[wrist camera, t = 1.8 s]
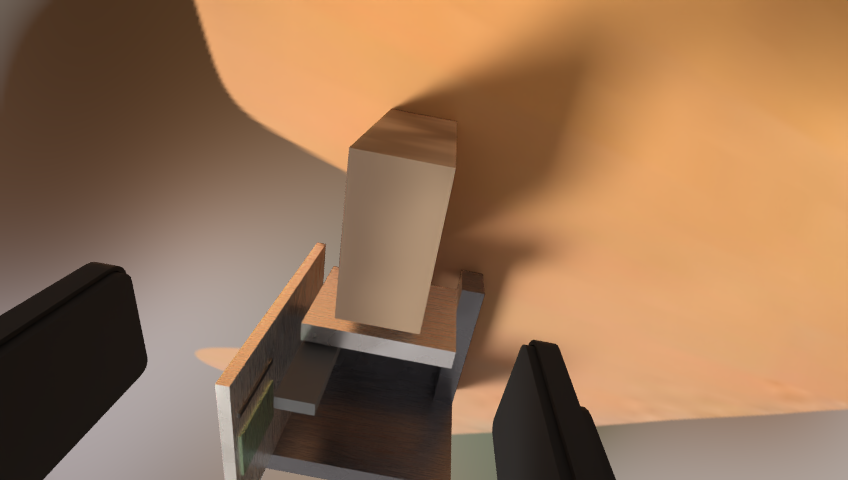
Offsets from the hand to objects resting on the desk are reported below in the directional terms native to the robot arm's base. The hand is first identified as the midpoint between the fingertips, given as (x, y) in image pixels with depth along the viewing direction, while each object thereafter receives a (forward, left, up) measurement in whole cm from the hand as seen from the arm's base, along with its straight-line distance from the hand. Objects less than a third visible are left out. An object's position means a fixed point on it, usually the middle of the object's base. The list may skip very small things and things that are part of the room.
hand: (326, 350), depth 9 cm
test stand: (-1, +13, -17) cm, 21 cm away
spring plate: (-1, +9, -15) cm, 17 cm away
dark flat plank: (+3, +9, -15) cm, 18 cm away
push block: (-1, +1, -17) cm, 17 cm away
